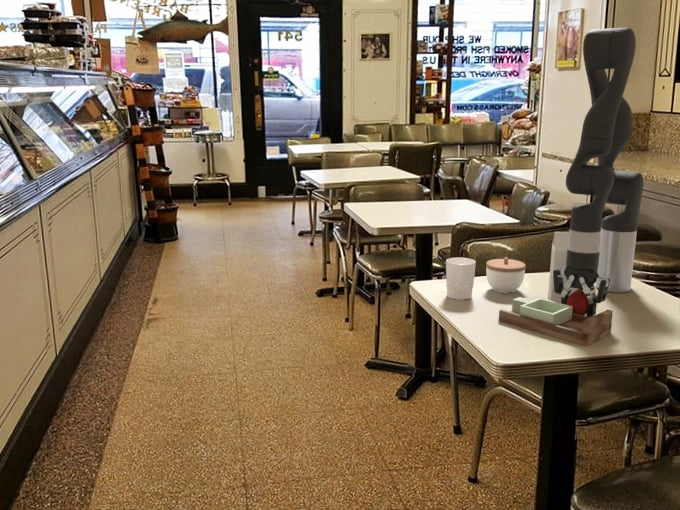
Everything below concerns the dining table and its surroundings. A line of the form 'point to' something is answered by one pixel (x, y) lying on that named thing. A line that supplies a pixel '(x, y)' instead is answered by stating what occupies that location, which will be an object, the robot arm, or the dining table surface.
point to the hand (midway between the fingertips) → (577, 314)
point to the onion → (578, 302)
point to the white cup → (460, 277)
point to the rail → (566, 326)
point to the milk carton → (558, 263)
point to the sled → (542, 310)
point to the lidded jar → (505, 274)
